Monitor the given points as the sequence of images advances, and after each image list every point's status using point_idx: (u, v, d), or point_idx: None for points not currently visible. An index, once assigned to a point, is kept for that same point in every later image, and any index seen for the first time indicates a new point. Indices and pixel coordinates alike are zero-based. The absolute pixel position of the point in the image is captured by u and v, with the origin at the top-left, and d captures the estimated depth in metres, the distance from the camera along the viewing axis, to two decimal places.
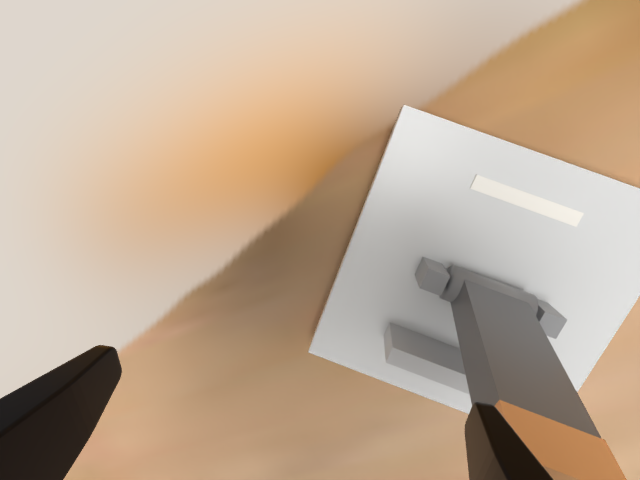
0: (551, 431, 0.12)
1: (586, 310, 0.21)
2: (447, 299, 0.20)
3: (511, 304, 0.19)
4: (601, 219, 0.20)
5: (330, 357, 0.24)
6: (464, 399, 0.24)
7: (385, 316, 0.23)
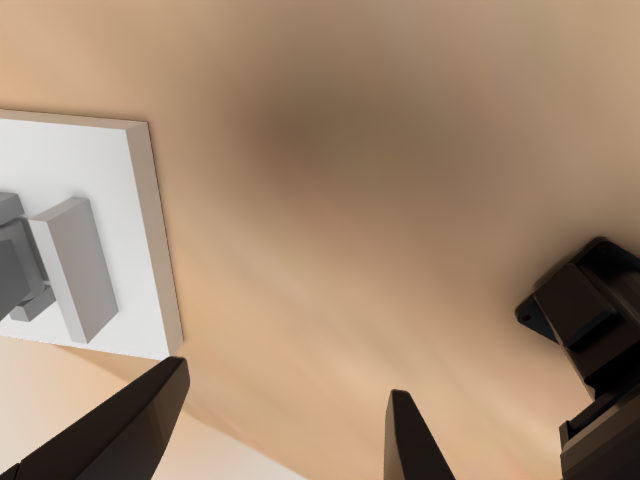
0: None
1: None
2: (27, 296, 0.22)
3: None
4: None
5: (164, 346, 0.25)
6: (131, 230, 0.21)
7: None
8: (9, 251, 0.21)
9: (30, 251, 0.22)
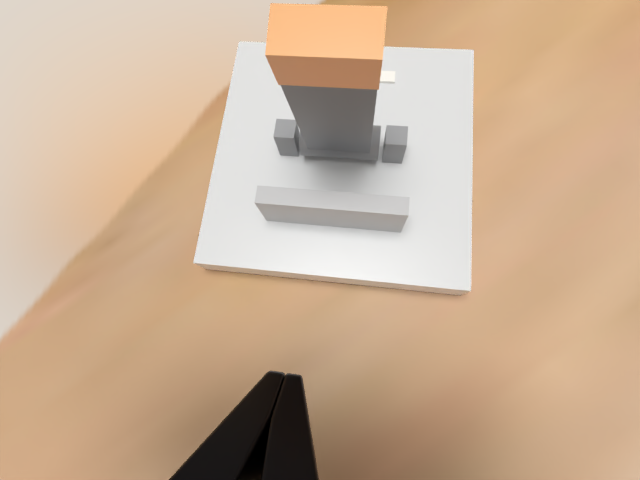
0: None
1: (437, 143, 0.23)
2: (303, 144, 0.22)
3: None
4: (411, 74, 0.24)
5: (217, 261, 0.22)
6: (368, 265, 0.21)
7: None
8: (359, 150, 0.21)
9: None
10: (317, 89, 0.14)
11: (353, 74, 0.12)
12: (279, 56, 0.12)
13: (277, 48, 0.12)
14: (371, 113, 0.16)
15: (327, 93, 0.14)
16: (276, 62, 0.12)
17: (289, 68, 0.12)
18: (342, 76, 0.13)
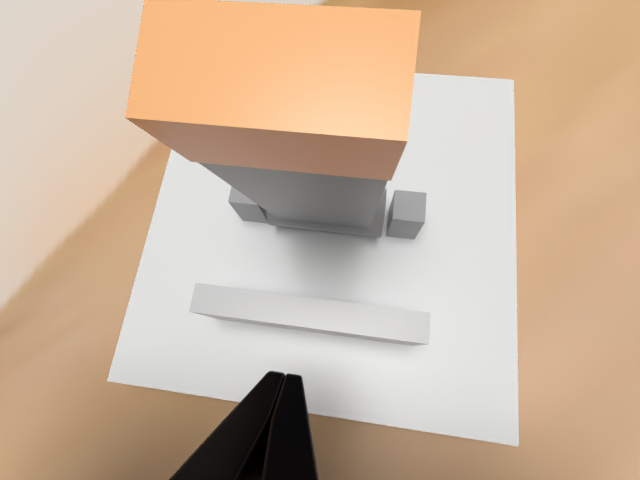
0: None
1: (466, 210, 0.16)
2: (271, 213, 0.15)
3: None
4: (428, 110, 0.18)
5: (141, 380, 0.15)
6: (363, 397, 0.14)
7: None
8: (354, 226, 0.14)
9: None
10: (269, 171, 0.07)
11: (339, 159, 0.06)
12: (161, 121, 0.05)
13: (156, 102, 0.05)
14: (375, 201, 0.09)
15: (291, 176, 0.07)
16: (162, 131, 0.05)
17: (196, 142, 0.06)
18: (314, 160, 0.06)
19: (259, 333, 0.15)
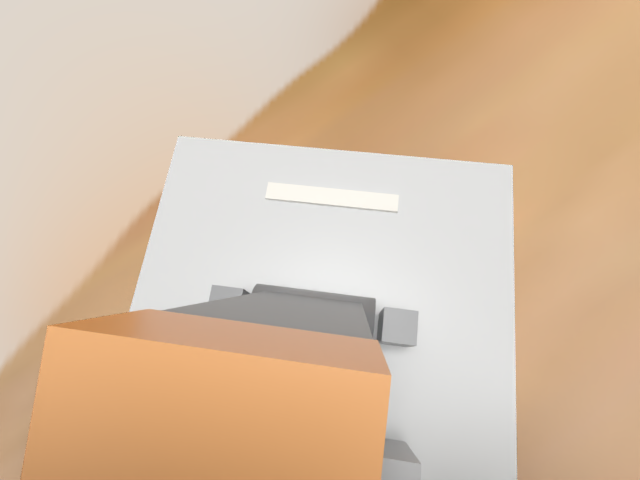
0: (235, 326, 0.05)
1: (461, 314, 0.15)
2: None
3: (327, 300, 0.13)
4: (422, 199, 0.17)
5: None
6: None
7: None
8: None
9: None
10: None
11: None
12: None
13: (58, 468, 0.04)
14: None
15: None
16: (74, 472, 0.04)
17: None
18: None
19: None
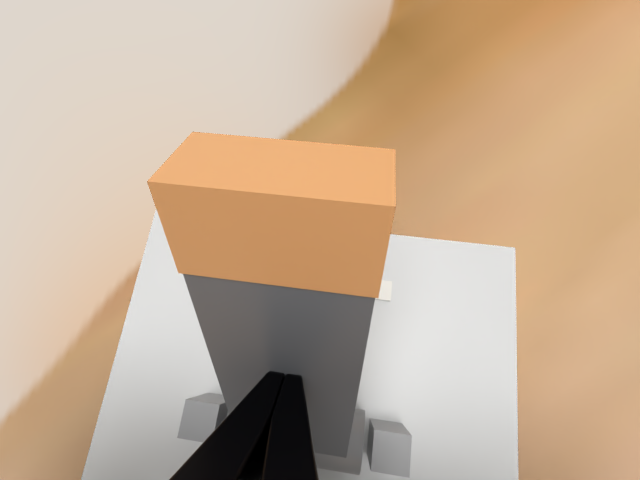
0: None
1: (459, 421, 0.14)
2: None
3: None
4: (417, 285, 0.15)
5: None
6: None
7: None
8: (328, 450, 0.12)
9: None
10: (255, 292, 0.07)
11: (331, 250, 0.06)
12: (177, 189, 0.06)
13: (178, 177, 0.06)
14: (357, 363, 0.08)
15: (275, 302, 0.07)
16: (172, 206, 0.06)
17: (198, 225, 0.06)
18: (306, 255, 0.06)
19: None
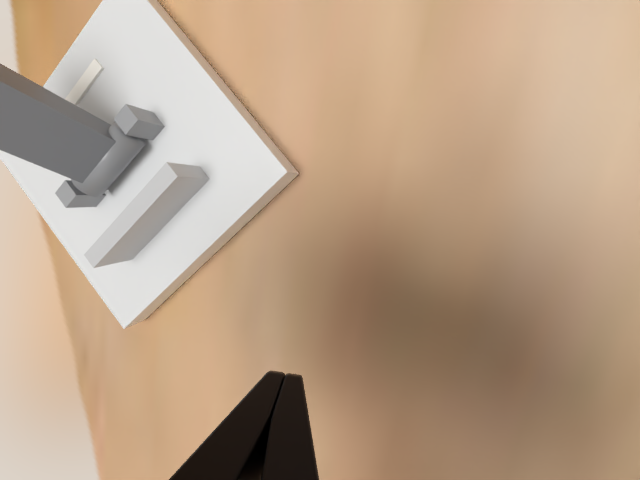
0: None
1: (171, 82, 0.22)
2: (76, 183, 0.22)
3: None
4: (106, 46, 0.23)
5: (133, 314, 0.25)
6: (212, 224, 0.23)
7: None
8: (103, 145, 0.21)
9: (117, 165, 0.22)
10: None
11: None
12: None
13: None
14: None
15: None
16: None
17: None
18: None
19: (152, 246, 0.24)
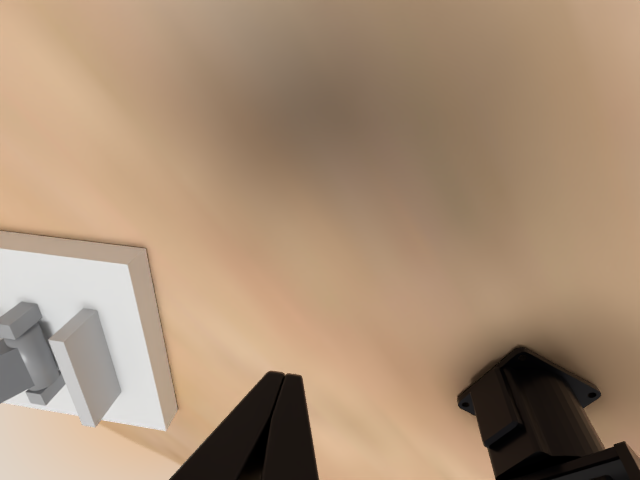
0: None
1: (5, 275, 0.24)
2: (31, 388, 0.26)
3: None
4: None
5: (160, 419, 0.29)
6: (132, 333, 0.25)
7: None
8: (13, 357, 0.24)
9: (39, 356, 0.25)
10: None
11: None
12: None
13: None
14: None
15: None
16: None
17: None
18: None
19: (120, 375, 0.28)
